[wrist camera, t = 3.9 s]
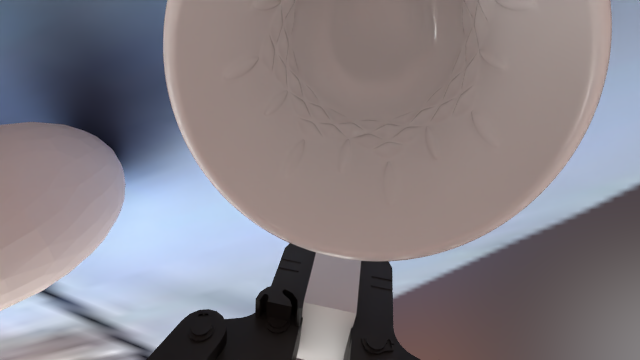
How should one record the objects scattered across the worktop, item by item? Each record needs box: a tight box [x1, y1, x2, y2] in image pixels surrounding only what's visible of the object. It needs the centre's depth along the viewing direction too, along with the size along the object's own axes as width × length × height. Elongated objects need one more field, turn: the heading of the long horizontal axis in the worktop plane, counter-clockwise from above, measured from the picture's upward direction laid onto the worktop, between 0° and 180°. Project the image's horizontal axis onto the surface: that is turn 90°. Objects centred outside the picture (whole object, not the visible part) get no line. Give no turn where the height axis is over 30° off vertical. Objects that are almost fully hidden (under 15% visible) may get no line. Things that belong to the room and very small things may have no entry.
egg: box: [0, 122, 125, 311], centre depth 16 cm, size 7×7×12 cm
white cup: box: [163, 0, 612, 261], centre depth 11 cm, size 8×8×10 cm
